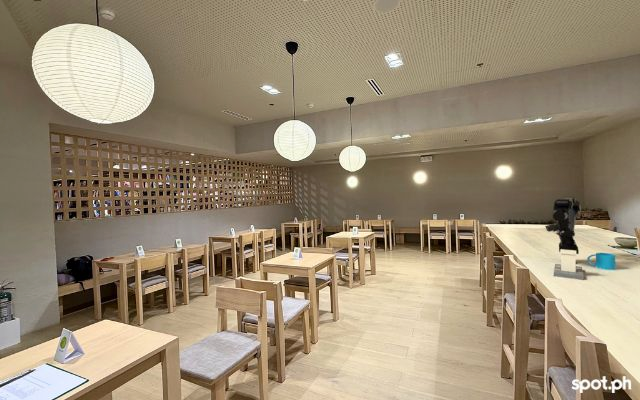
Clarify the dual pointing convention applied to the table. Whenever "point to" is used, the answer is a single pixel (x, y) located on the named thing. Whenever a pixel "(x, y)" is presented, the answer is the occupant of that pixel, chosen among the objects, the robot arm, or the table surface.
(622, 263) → the table surface
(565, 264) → the cream lidded box
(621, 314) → the table surface
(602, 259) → the mug
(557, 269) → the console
